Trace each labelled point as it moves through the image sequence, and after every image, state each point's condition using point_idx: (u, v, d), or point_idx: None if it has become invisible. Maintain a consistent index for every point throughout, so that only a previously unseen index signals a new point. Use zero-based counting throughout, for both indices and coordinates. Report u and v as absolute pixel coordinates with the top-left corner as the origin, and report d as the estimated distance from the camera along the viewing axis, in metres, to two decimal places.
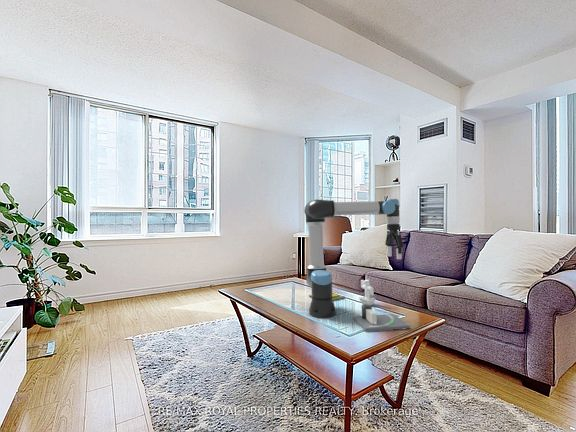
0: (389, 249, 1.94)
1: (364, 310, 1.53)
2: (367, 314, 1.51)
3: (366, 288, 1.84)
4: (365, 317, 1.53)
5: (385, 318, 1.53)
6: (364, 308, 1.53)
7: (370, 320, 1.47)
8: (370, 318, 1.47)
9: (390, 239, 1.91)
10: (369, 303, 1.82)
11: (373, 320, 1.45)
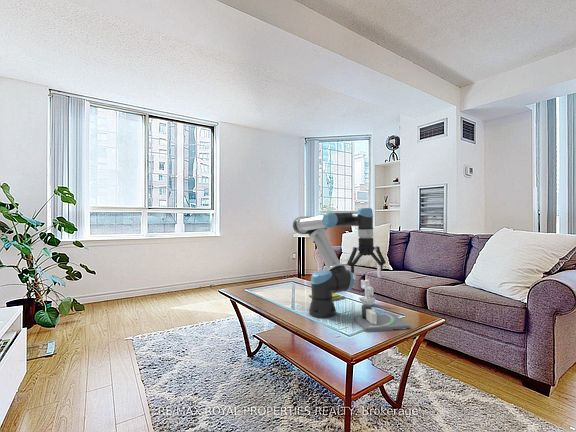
0: (378, 269, 1.58)
1: (364, 310, 1.53)
2: (367, 314, 1.51)
3: (366, 288, 1.84)
4: (365, 317, 1.53)
5: (385, 318, 1.53)
6: (364, 308, 1.53)
7: (370, 320, 1.47)
8: (370, 318, 1.47)
9: (372, 256, 1.58)
10: (369, 303, 1.82)
11: (373, 320, 1.45)
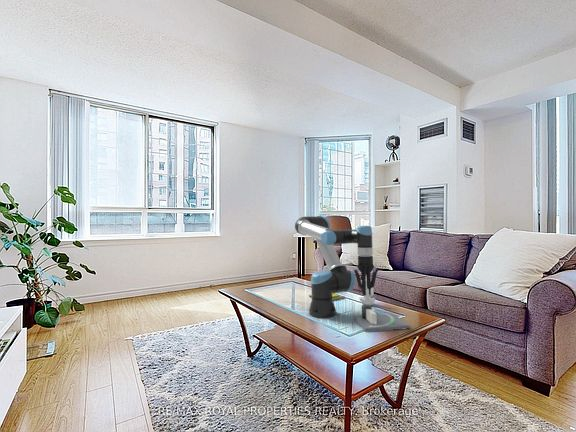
0: None
1: (364, 310, 1.53)
2: (367, 314, 1.51)
3: None
4: (365, 317, 1.53)
5: (385, 318, 1.53)
6: (364, 308, 1.53)
7: (370, 320, 1.47)
8: (370, 318, 1.47)
9: (366, 276, 1.56)
10: (369, 303, 1.82)
11: (373, 320, 1.45)
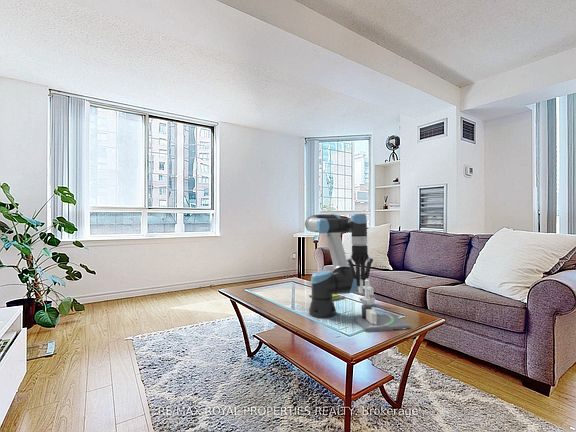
0: None
1: (364, 310, 1.53)
2: (367, 314, 1.51)
3: (366, 288, 1.84)
4: (365, 317, 1.53)
5: (385, 318, 1.53)
6: (364, 308, 1.53)
7: (370, 320, 1.47)
8: (370, 318, 1.47)
9: (361, 266, 1.49)
10: (369, 303, 1.82)
11: (373, 320, 1.45)
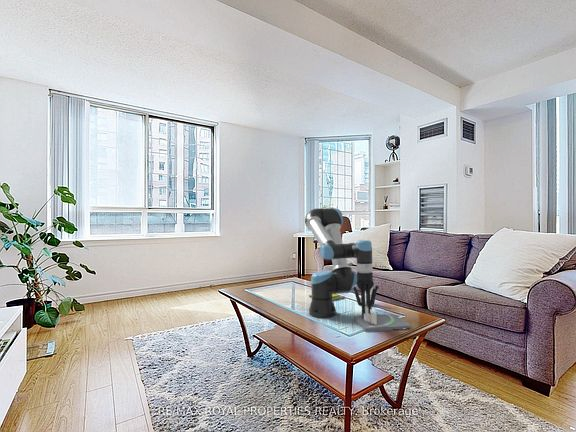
0: None
1: None
2: None
3: None
4: None
5: (385, 318, 1.53)
6: None
7: (370, 320, 1.47)
8: (370, 318, 1.47)
9: (366, 293, 1.48)
10: None
11: (373, 320, 1.45)
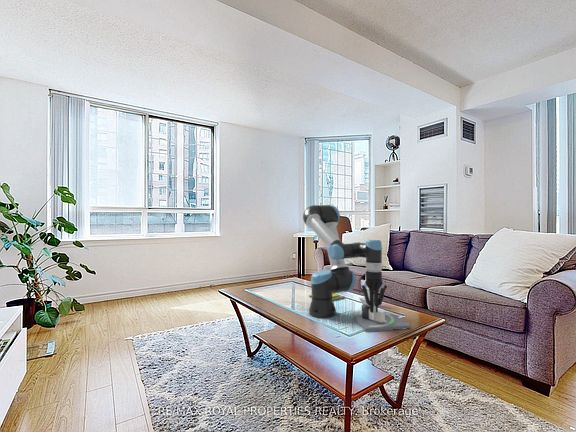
0: None
1: (367, 310, 1.53)
2: None
3: (366, 288, 1.84)
4: (368, 317, 1.53)
5: (385, 318, 1.53)
6: (367, 308, 1.53)
7: (378, 319, 1.48)
8: (378, 317, 1.48)
9: (374, 292, 1.49)
10: None
11: (383, 319, 1.47)
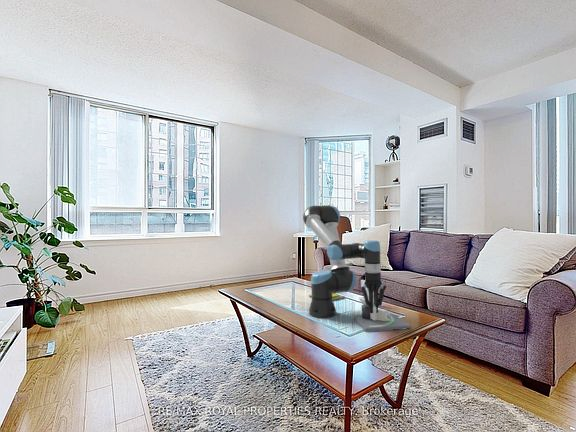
0: None
1: (368, 310, 1.53)
2: None
3: (366, 288, 1.84)
4: (369, 317, 1.53)
5: None
6: (368, 308, 1.53)
7: (382, 318, 1.50)
8: (381, 316, 1.50)
9: (374, 293, 1.50)
10: None
11: (386, 317, 1.49)
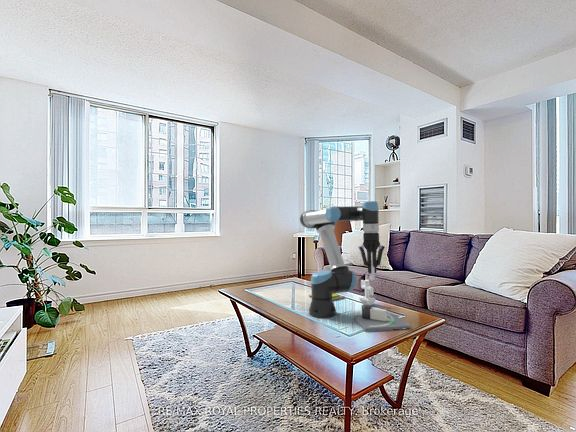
0: None
1: (368, 310, 1.53)
2: (374, 313, 1.52)
3: (366, 288, 1.84)
4: (369, 317, 1.53)
5: None
6: (368, 308, 1.53)
7: (382, 318, 1.50)
8: (381, 316, 1.50)
9: (372, 253, 1.50)
10: (369, 303, 1.82)
11: (386, 317, 1.49)
